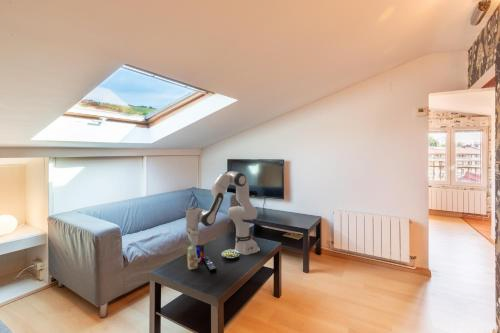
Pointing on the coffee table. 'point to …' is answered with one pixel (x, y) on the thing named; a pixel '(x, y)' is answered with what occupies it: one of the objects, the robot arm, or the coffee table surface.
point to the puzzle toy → (198, 252)
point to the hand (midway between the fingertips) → (192, 246)
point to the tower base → (192, 265)
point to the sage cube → (192, 251)
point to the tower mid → (192, 258)
